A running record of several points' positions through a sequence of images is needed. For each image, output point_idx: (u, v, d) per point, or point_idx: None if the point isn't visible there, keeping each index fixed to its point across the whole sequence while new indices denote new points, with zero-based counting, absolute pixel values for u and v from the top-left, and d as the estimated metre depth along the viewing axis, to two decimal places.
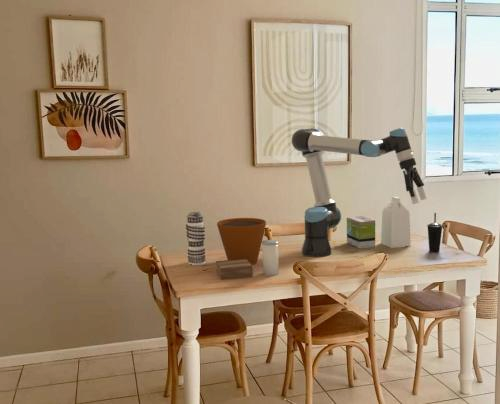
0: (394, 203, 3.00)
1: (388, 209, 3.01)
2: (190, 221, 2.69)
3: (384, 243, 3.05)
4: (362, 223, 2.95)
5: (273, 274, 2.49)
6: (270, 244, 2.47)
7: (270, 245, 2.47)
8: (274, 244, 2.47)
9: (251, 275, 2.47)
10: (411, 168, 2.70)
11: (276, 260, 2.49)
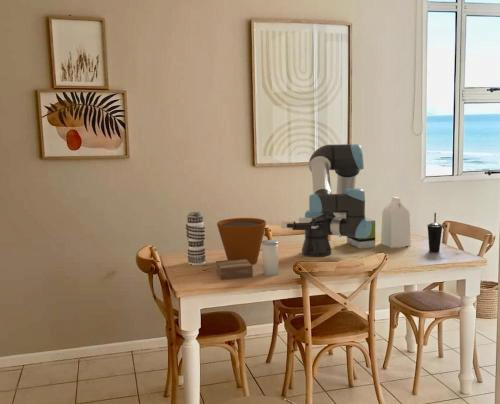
0: (394, 203, 3.00)
1: (388, 209, 3.01)
2: (190, 221, 2.69)
3: (384, 243, 3.05)
4: None
5: (273, 274, 2.49)
6: (270, 244, 2.47)
7: (270, 245, 2.47)
8: (274, 244, 2.47)
9: (251, 275, 2.47)
10: None
11: (276, 260, 2.49)
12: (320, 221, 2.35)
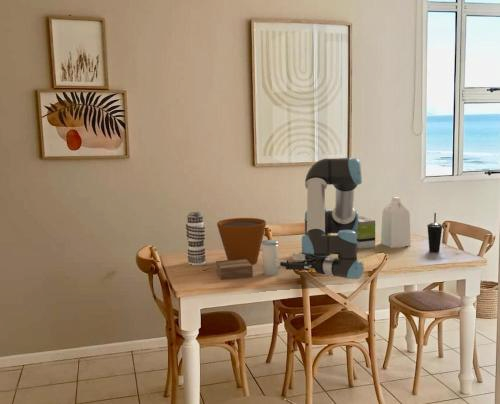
0: (394, 203, 3.00)
1: (388, 209, 3.01)
2: (190, 221, 2.69)
3: (384, 243, 3.05)
4: (362, 223, 2.95)
5: (273, 274, 2.49)
6: (270, 244, 2.47)
7: (270, 245, 2.47)
8: (274, 244, 2.47)
9: (251, 275, 2.47)
10: None
11: None
12: (313, 259, 2.38)
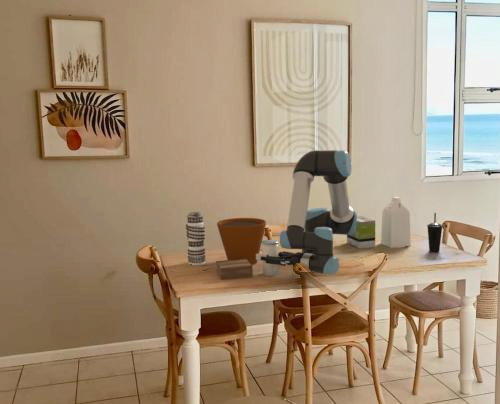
0: (394, 203, 3.00)
1: (388, 209, 3.01)
2: (190, 221, 2.69)
3: (384, 243, 3.05)
4: (362, 223, 2.95)
5: (273, 274, 2.49)
6: (270, 244, 2.47)
7: (270, 245, 2.47)
8: (274, 244, 2.47)
9: (251, 275, 2.47)
10: None
11: None
12: (292, 256, 2.45)
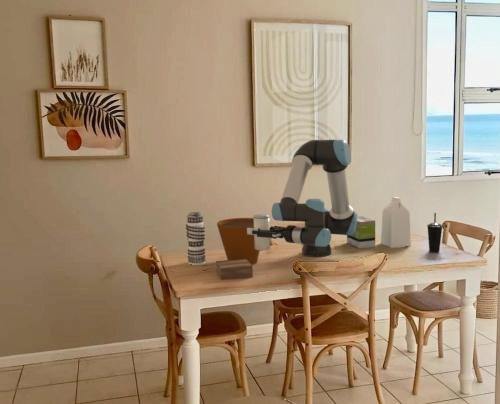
0: (394, 203, 3.00)
1: (388, 209, 3.01)
2: (190, 221, 2.69)
3: (384, 243, 3.05)
4: (362, 223, 2.95)
5: (265, 248, 2.47)
6: (261, 218, 2.45)
7: (261, 219, 2.45)
8: (265, 218, 2.45)
9: (251, 275, 2.47)
10: None
11: None
12: (283, 229, 2.43)
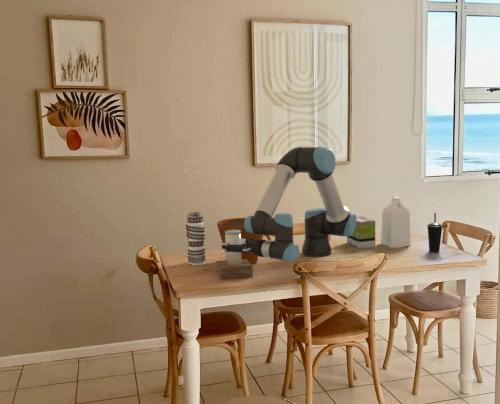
0: (394, 203, 3.00)
1: (388, 209, 3.01)
2: (190, 221, 2.69)
3: (384, 243, 3.05)
4: (362, 223, 2.95)
5: (236, 263, 2.49)
6: (232, 233, 2.47)
7: (232, 234, 2.47)
8: (236, 233, 2.47)
9: (251, 275, 2.47)
10: None
11: None
12: (254, 243, 2.45)
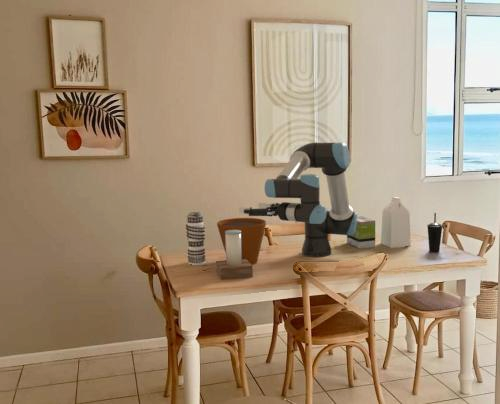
0: (394, 203, 3.00)
1: (388, 209, 3.01)
2: (190, 221, 2.69)
3: (384, 243, 3.05)
4: (362, 223, 2.95)
5: (236, 263, 2.49)
6: (232, 233, 2.47)
7: (232, 234, 2.47)
8: (237, 234, 2.47)
9: (251, 275, 2.47)
10: None
11: (239, 249, 2.49)
12: (277, 207, 2.34)
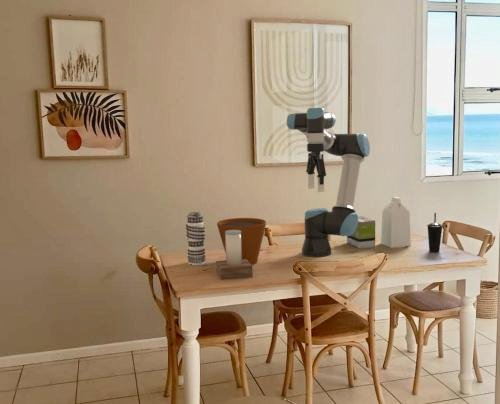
0: (394, 203, 3.00)
1: (388, 209, 3.01)
2: (190, 221, 2.69)
3: (384, 243, 3.05)
4: (362, 223, 2.95)
5: (236, 263, 2.49)
6: (232, 233, 2.47)
7: (232, 234, 2.47)
8: (237, 234, 2.47)
9: (251, 275, 2.47)
10: (313, 153, 2.50)
11: (239, 249, 2.49)
12: None
